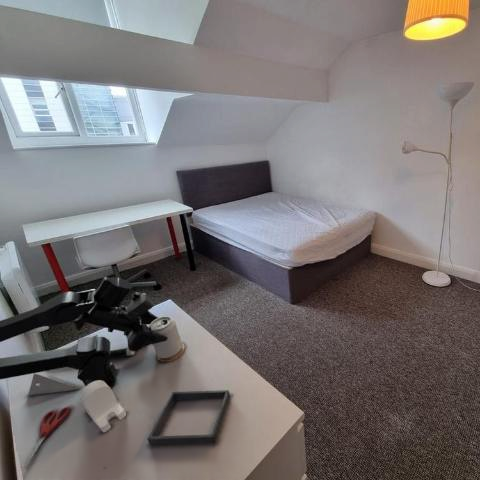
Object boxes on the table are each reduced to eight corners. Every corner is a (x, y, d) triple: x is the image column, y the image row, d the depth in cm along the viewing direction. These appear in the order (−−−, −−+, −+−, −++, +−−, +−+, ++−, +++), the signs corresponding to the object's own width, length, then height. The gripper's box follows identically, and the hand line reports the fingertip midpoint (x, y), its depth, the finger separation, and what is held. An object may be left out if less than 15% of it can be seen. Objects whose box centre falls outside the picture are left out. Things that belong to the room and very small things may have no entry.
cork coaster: (156, 365, 84) (155, 364, 83) (159, 347, 90) (158, 346, 90) (184, 356, 86) (183, 355, 86) (185, 340, 93) (184, 338, 93)
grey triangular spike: (93, 372, 82) (48, 367, 81) (81, 378, 77) (33, 373, 76) (88, 392, 81) (42, 388, 80) (76, 399, 76) (27, 395, 75)
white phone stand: (109, 396, 74) (96, 370, 70) (127, 414, 69) (113, 388, 65) (87, 412, 70) (71, 386, 66) (103, 433, 65) (87, 406, 61)
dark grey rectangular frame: (150, 445, 62) (147, 439, 61) (174, 398, 73) (172, 391, 72) (215, 443, 62) (213, 437, 61) (230, 396, 73) (228, 390, 72)
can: (186, 350, 88) (177, 322, 83) (161, 364, 83) (150, 334, 78) (178, 339, 93) (169, 311, 88) (154, 351, 88) (143, 322, 83)
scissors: (46, 411, 70) (48, 414, 70) (7, 471, 58) (10, 473, 58) (71, 405, 71) (72, 407, 72) (38, 461, 59) (40, 464, 60)
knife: (130, 359, 86) (137, 348, 90) (128, 353, 85) (135, 342, 89) (39, 374, 82) (51, 361, 87) (35, 368, 81) (47, 356, 86)
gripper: (129, 309, 68) (186, 325, 78) (126, 278, 82) (175, 295, 92) (102, 347, 67) (163, 357, 78) (104, 309, 81) (155, 322, 92)
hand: (164, 330), depth 85 cm, fingers open, 9 cm apart
